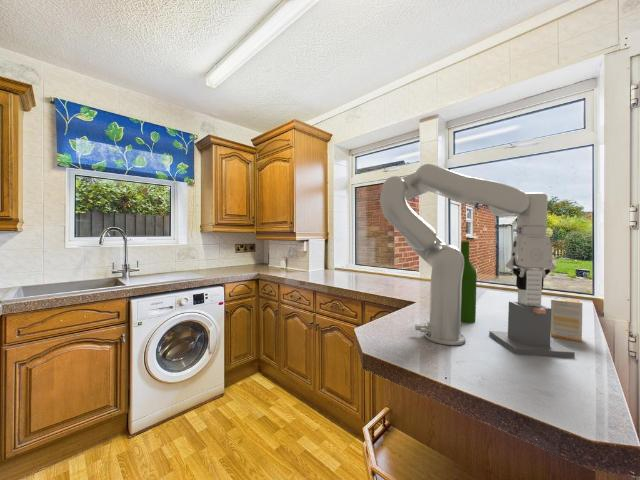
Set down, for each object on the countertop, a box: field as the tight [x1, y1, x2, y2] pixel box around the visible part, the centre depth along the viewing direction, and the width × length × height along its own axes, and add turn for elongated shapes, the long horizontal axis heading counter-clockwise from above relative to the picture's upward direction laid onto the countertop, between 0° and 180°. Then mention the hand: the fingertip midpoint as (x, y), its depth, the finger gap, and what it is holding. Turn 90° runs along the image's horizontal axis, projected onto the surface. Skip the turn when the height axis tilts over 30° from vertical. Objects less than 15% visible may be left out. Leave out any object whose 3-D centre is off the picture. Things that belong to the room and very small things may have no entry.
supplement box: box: [550, 297, 583, 342], centre depth 99 cm, size 8×5×13 cm, turn 48°
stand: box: [488, 300, 576, 358], centre depth 91 cm, size 16×16×13 cm
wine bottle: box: [460, 240, 478, 324], centre depth 118 cm, size 9×9×32 cm
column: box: [517, 268, 543, 307], centre depth 91 cm, size 5×5×19 cm
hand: (529, 288), depth 91 cm, fingers closed on column, 4 cm apart
